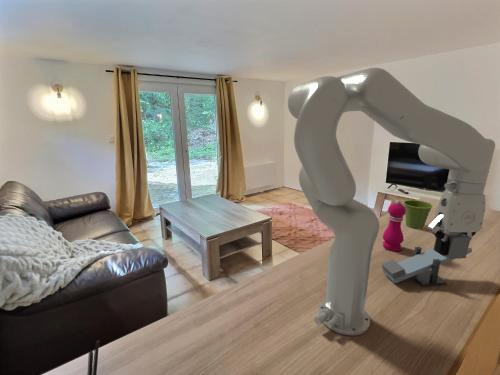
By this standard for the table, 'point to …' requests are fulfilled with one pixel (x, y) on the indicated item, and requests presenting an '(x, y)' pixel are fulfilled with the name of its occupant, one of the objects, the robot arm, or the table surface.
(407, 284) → the table surface
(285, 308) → the table surface
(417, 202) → the plant pot
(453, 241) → the iron block
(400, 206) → the pepper mill
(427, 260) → the beam
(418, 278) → the stand
